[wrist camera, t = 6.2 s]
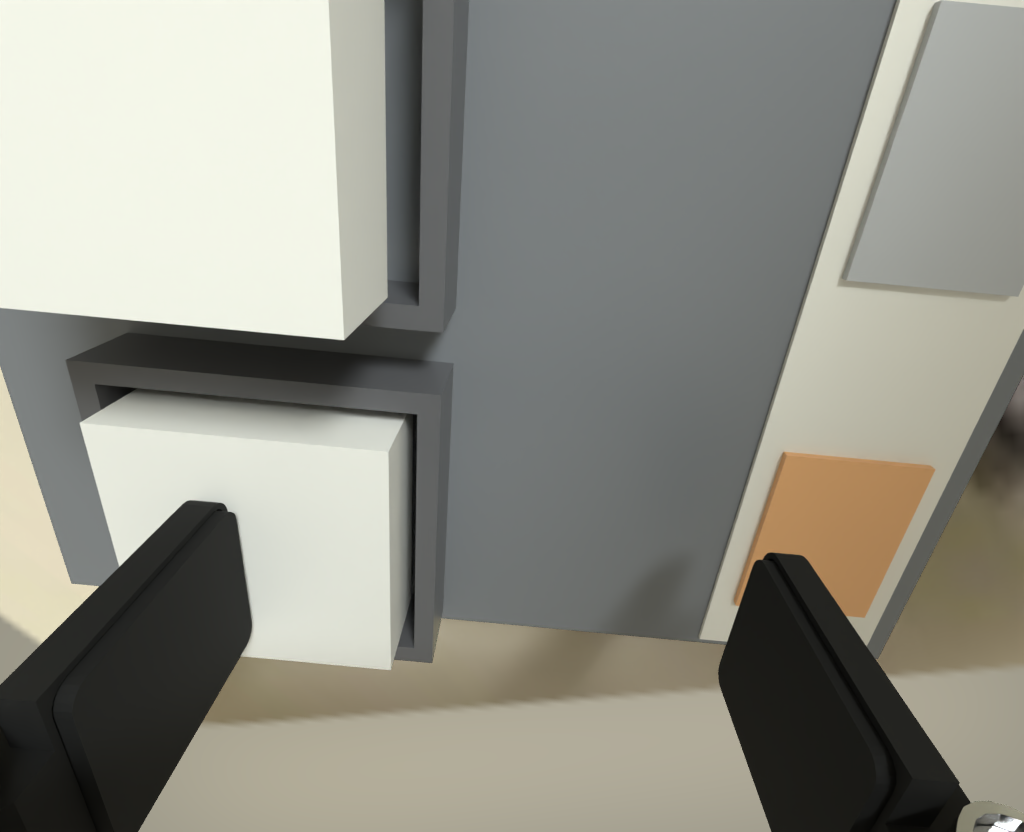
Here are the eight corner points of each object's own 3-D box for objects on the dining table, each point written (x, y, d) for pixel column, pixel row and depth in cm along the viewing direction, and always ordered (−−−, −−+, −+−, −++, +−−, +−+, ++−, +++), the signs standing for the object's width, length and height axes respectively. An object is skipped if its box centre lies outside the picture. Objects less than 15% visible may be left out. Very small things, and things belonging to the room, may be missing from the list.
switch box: (1381, -773, 7) (2574, -2077, 3) (822, 575, 17) (917, 717, 12) (-191, -924, 7) (-1231, -2460, 3) (147, 512, 16) (17, 633, 12)
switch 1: (381, -177, 6) (313, -325, 4) (387, 297, 8) (343, 340, 6) (-95, -222, 6) (-378, -389, 4) (38, 264, 8) (-107, 298, 6)
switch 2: (413, 401, 11) (388, 451, 9) (411, 597, 13) (390, 670, 11) (155, 377, 11) (79, 422, 9) (196, 578, 13) (141, 646, 11)
